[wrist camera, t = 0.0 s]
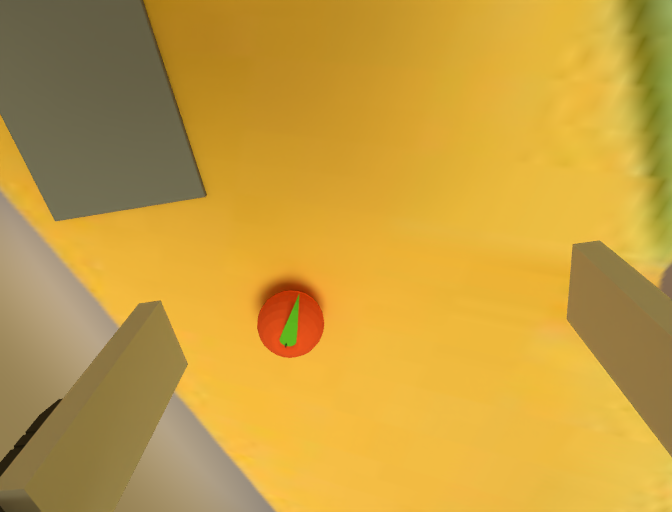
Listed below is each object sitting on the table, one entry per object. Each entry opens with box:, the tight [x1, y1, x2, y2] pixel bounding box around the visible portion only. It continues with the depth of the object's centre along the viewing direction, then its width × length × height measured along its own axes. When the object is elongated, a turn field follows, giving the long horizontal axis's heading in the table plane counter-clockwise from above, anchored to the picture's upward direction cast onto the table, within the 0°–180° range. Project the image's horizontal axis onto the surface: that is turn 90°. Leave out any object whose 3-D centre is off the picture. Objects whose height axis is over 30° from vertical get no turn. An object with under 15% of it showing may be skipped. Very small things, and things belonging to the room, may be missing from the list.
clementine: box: [257, 290, 324, 358], centre depth 44 cm, size 8×7×7 cm
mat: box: [0, 0, 207, 221], centre depth 38 cm, size 20×16×1 cm
